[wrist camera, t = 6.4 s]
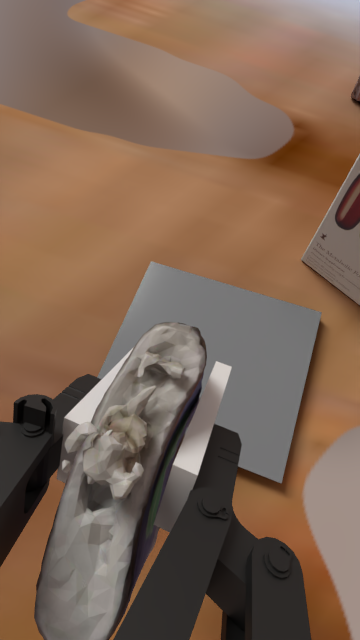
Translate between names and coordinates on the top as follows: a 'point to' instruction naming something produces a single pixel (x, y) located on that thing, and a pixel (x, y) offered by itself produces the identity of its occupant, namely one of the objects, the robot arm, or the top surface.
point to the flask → (118, 485)
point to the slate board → (234, 355)
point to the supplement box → (340, 239)
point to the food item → (356, 91)
